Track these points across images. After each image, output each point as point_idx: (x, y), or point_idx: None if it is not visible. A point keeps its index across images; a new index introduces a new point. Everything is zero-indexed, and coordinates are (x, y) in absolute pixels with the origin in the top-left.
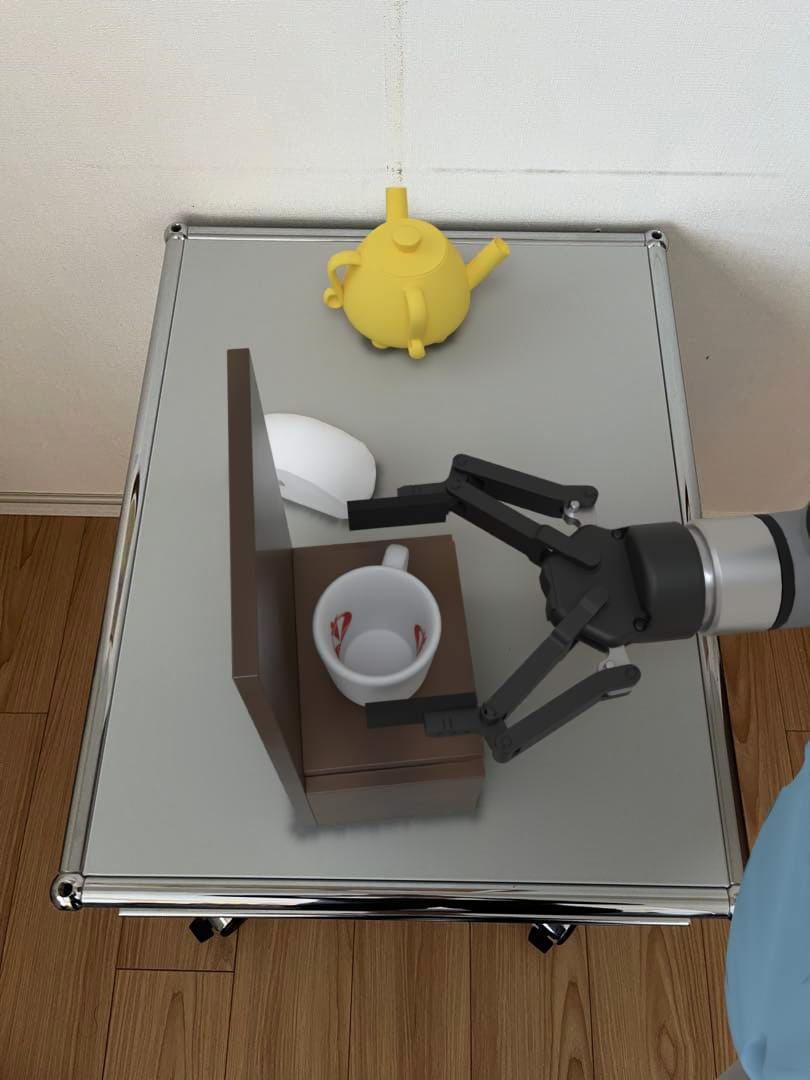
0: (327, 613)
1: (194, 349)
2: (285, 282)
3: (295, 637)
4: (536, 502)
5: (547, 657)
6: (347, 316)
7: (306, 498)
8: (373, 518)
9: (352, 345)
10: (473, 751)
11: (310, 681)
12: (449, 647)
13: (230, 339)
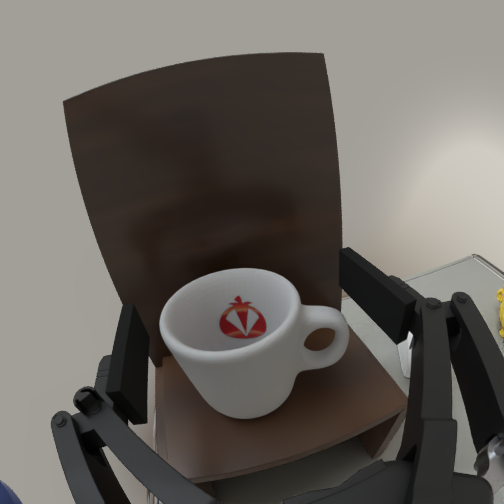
0: (238, 281)
1: (438, 279)
2: (491, 288)
3: None
4: (480, 404)
5: (168, 493)
6: (500, 305)
7: (400, 346)
8: (352, 278)
9: (492, 324)
10: None
11: None
12: (283, 439)
13: (453, 286)
